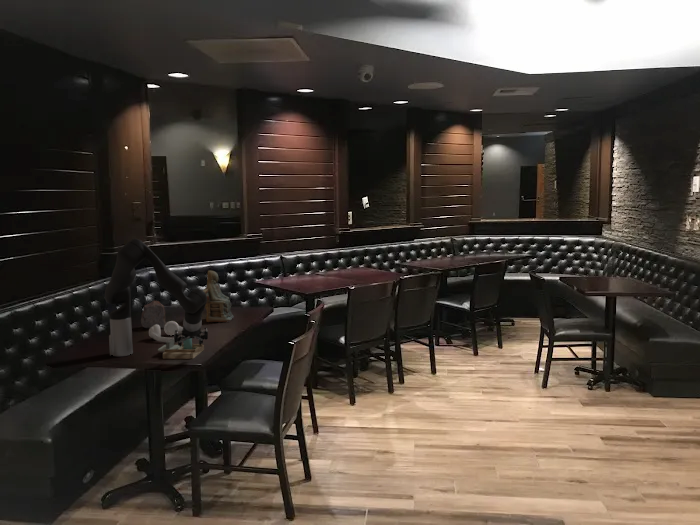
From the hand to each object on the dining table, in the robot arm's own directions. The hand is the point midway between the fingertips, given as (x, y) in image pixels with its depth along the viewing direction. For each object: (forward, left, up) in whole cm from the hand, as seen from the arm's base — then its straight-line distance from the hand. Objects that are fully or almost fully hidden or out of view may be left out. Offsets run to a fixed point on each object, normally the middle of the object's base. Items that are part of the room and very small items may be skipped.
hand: (190, 344), depth 262 cm
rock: (-41, +65, -7) cm, 78 cm away
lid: (-13, +9, -5) cm, 17 cm away
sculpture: (-11, +85, -7) cm, 86 cm away
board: (-6, +9, -7) cm, 13 cm away
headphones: (-23, +39, -8) cm, 46 cm away
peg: (-4, +9, -7) cm, 12 cm away
